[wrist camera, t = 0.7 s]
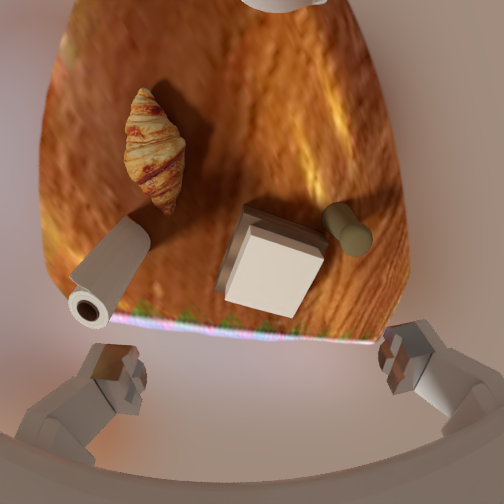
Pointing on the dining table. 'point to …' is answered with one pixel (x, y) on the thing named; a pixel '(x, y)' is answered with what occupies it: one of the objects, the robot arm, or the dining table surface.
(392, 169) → the dining table surface
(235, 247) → the tower base block
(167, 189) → the croissant
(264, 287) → the tower top block
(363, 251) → the olive green pawn
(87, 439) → the robot arm
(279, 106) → the dining table surface
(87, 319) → the paper towel roll
